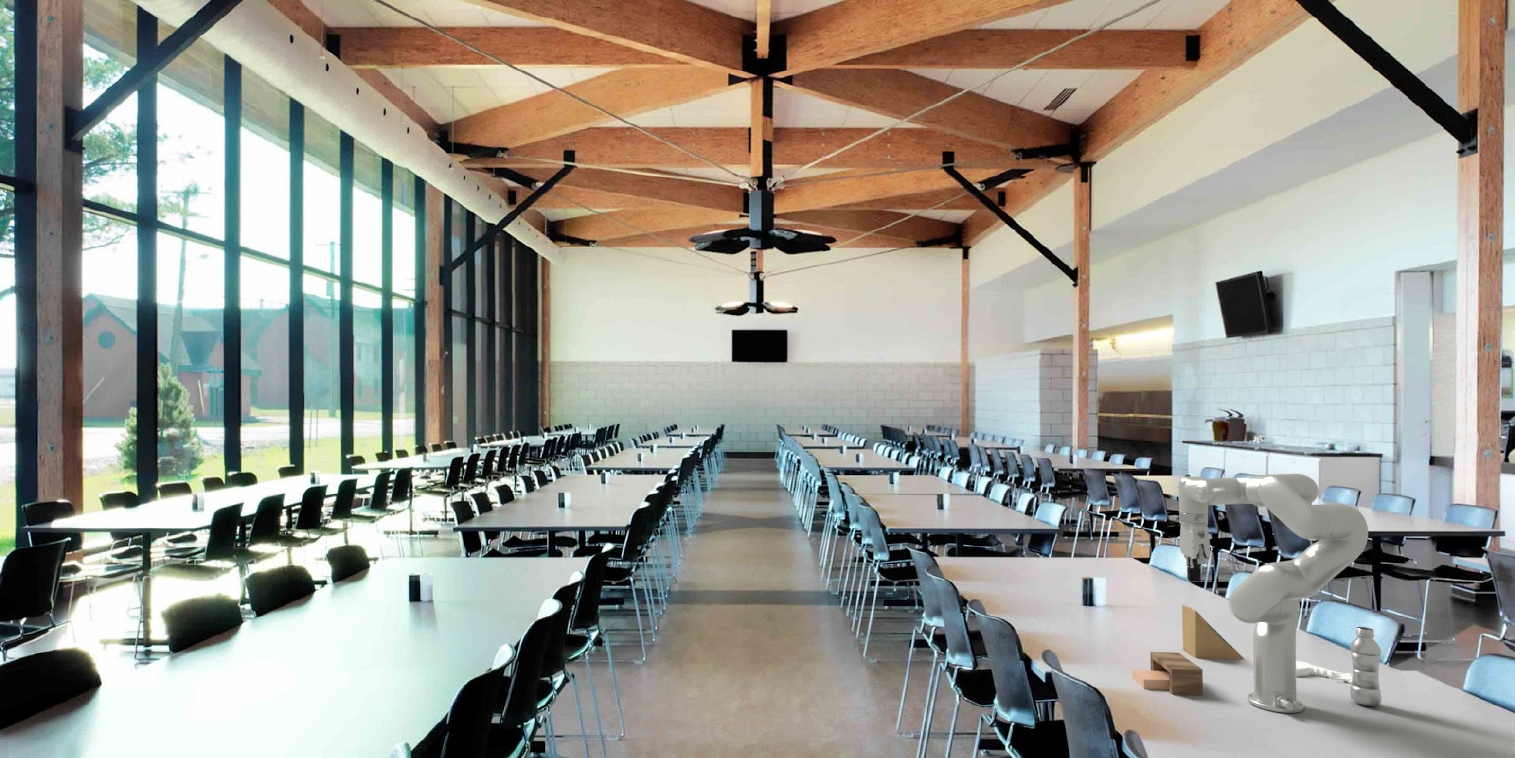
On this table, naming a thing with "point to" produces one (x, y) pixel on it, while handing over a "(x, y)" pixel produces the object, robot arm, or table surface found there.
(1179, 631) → the table surface
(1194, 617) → the sandwich container
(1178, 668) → the wooden bridge block
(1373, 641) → the plastic bottle
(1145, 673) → the peach flat block
